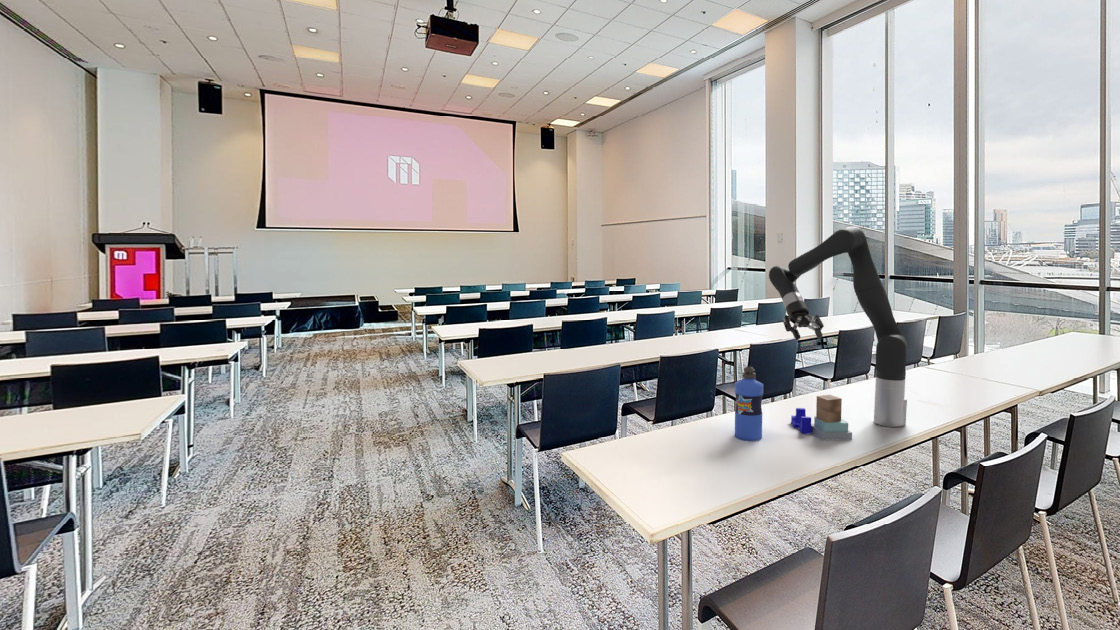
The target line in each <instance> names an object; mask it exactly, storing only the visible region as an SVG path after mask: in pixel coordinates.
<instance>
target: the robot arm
mask: <svg viewBox="0 0 1120 630" xmlns="http://www.w3.org/2000/svg"><path fill="white" fill-rule="evenodd" d="M842 254H847V255H848V257H849V259H850V262H851V265H852V270H853V271H852V273H853V275H852V278H853V279H852V281H853V283H852V284H853V290H854V293H855V296H856V299H857V301H858V303H859V305H860V307H861V308H862V311H863V312H864V313H865V315H866V316H867V318H868V320H869V321H870V322H871V324H872V326H873V330H874V333H875V335H876V339H877V343H876V347H875V387H874V388H875V391H874V392H875V393H874V410H873V422H874V423H875V424H877V425H880V426H884V427H888V428H889V427H890V428H900V427H903V426H906V425H907V407H908V400H907V398H905V394H906V377H907V376H906V375H907V373H906V372H907V371H906V367H907V365H906V363H907V362H906V361H907V351H908V342H907V340H906V338H905V337H904V335H903V332H902V331H901V329H900V328H899V327H900V326H898V324H897V322H896V320H895V317H894V314H893V310H892V306H891V304H890V301H889V297H888V294H887V293H886V289H885V287H884V284H883V282H882V280H881V277H880V275H879V273H878V271H877V268H876V266H875V263H874V261H873V258H872V255H871V252H870V246H869V244H868V240H867V237H866V235H865V232H864V231H863V230H862V229H861V228H860V227H858V226H854V225H853V226H847V227H844V228H840V229H838V230H836V231H835V232H833V234H832V235H830V236H828V238H826V239H825V240H824V241H823V242H821V243H819V244H818V245H817V246H815V247H814V248H811V249H810V250H808V251H807V252H804V253H803V254H801V255H799V256H797V257H795V258H794V259H793V260H790V262H789V263H788V267H783V266H780V265H775V266H773V267H771V268H770V269H769V272H768V279H769V282H770V283H771V284H772V285H773V287H774V288H775V290H777V292H778V293H779V296H780V297H781V300H782V303H783V306H784V310H785V311H786V314H787V315H784V317H783V318H782V322H783V325H784V329H785V331H786V332H790V333H792V335H793V338H794V339H796V341H799V340H800V339H801V334H800V332H799V330H798V329H797V328H808V329H809V330H812V331H814V333H815V336H816V338H817V340H821V339H822V338H823V333H822V329H823V328H824V327H825V325H824V323H823V321H822V319H821V318H820V316H819V315H818V314H815V315H814V316H812V315H810V312H809V309H808V307H807V305H806V302H805V300H804V298H803V296H802V295H801V293H800V291H799V289H798V287H797V285H796V284H795V283H794V282H796V281H797V280H798V279H799V278H800V277H802V275H804V274H805V273H808V272H809V271H812V270H813V269H815V268H816V267H818V266H819V265H820V264H822V263H823V262H825V261H826V260H828V259H830V258H834V257H836V256H839V255H842ZM791 323H792V324H793V326H792V324H791ZM810 324H811V325H810Z"/></svg>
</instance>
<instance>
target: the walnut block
mask: <svg viewBox="0 0 1120 630" xmlns="http://www.w3.org/2000/svg"><path fill="white" fill-rule="evenodd" d="M842 400H843V398H841V397H839V396H835V395H833V394H823V395H817V396H816V410H815V411H816V412H815V413H816V414H815V415H816V418H817V419H819V420H822V421H824V422H827V423H830V422H838V421H841V419H842V405H843V404H842V402H843V401H842Z"/></svg>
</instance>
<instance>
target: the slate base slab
mask: <svg viewBox="0 0 1120 630" xmlns="http://www.w3.org/2000/svg"><path fill="white" fill-rule="evenodd" d="M811 434H814V436H816V437H817V438H819V439H820V440H822V441H842V440H847V441H849V440H853V432H852V431H850V430H849V429H848V432H824V431H822V430H821V429H820V428H818V427H817V426H816V425H814V423H811Z"/></svg>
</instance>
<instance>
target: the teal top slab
mask: <svg viewBox="0 0 1120 630" xmlns="http://www.w3.org/2000/svg"><path fill="white" fill-rule="evenodd" d="M813 422H814V423H813V424H814V425H816V426H817V427H818V428H820V429H821V430H822V431H824V432H848V430H849V422H847V421H846V420H845V419H843V418H841V421H838V422H830V423H827V422H824V421H822V420H819V419H817V418H816V416H814V421H813Z"/></svg>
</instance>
